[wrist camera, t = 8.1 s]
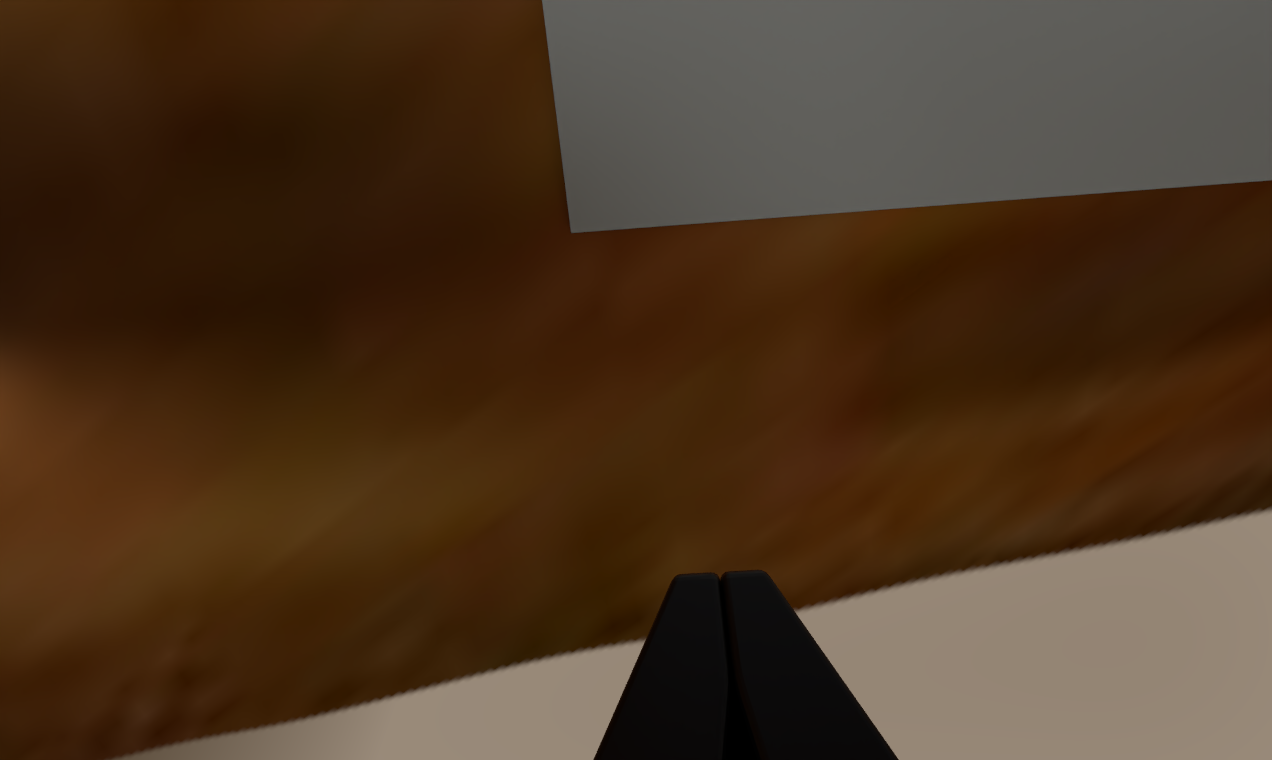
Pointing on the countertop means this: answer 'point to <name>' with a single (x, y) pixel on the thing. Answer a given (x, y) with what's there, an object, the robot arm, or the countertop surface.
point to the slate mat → (898, 103)
